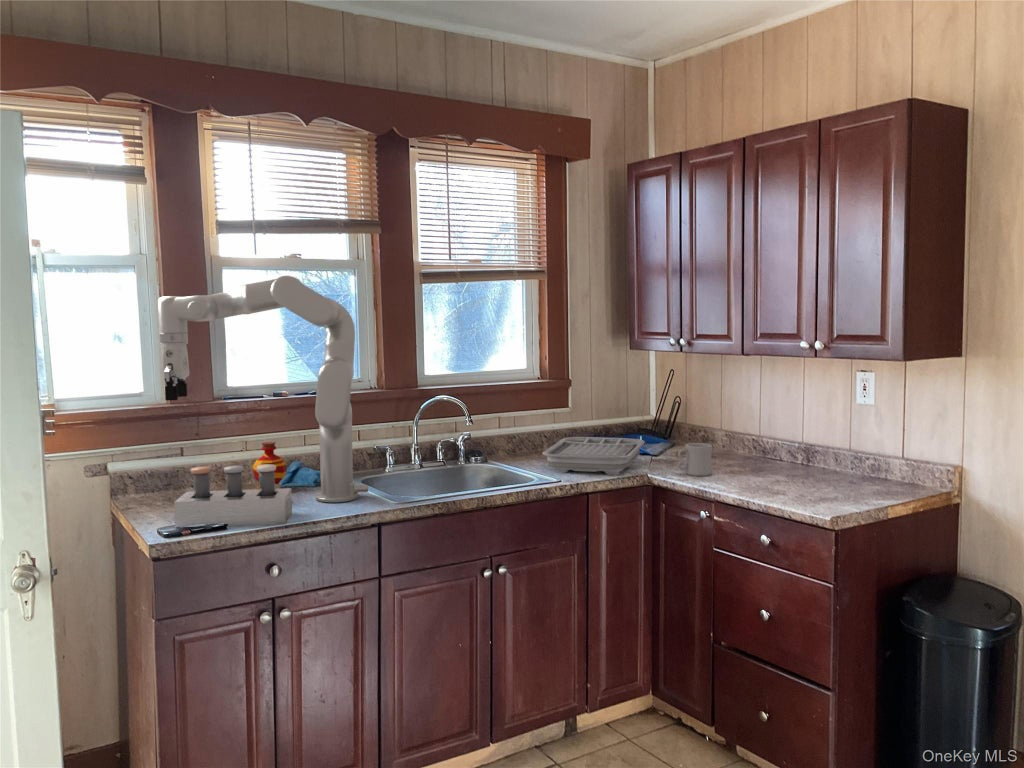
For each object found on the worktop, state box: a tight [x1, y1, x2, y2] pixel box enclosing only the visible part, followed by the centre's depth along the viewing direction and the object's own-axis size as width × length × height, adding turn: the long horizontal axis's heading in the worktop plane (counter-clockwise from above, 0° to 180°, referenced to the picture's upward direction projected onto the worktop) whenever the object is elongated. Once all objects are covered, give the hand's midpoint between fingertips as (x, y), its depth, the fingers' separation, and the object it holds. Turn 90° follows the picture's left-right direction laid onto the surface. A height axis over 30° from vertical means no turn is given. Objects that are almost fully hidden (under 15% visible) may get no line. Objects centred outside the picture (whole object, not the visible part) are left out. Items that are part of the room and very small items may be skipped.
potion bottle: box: [252, 441, 287, 486], centre depth 257 cm, size 10×10×15 cm
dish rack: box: [542, 436, 646, 476], centre depth 291 cm, size 32×37×8 cm
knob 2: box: [257, 465, 276, 496], centre depth 221 cm, size 5×5×8 cm
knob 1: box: [190, 466, 212, 498], centre depth 219 cm, size 5×5×8 cm
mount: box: [174, 487, 293, 528], centre depth 220 cm, size 28×12×7 cm, turn 97°
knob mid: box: [223, 465, 245, 497], centre depth 220 cm, size 5×5×8 cm
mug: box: [677, 442, 713, 477], centre depth 276 cm, size 12×9×10 cm
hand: (176, 398), depth 237 cm, fingers open, 9 cm apart
